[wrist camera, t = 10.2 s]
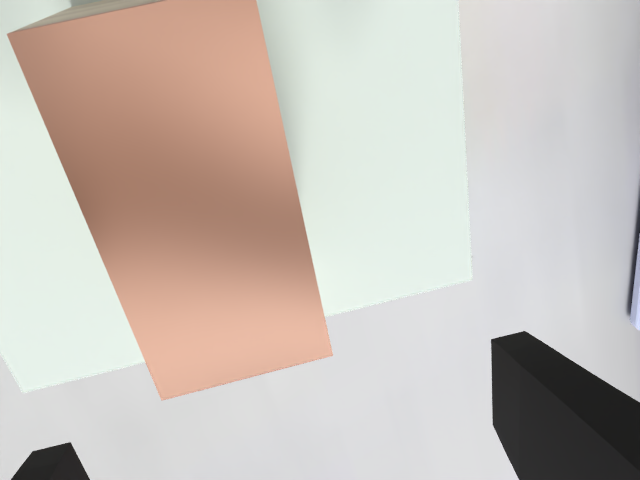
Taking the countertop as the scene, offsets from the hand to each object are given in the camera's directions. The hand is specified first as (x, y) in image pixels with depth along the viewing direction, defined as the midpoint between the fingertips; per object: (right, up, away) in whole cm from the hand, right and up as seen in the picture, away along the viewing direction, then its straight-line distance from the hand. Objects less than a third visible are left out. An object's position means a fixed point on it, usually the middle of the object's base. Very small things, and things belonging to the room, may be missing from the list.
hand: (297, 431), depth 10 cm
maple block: (-3, +6, +6) cm, 9 cm away
